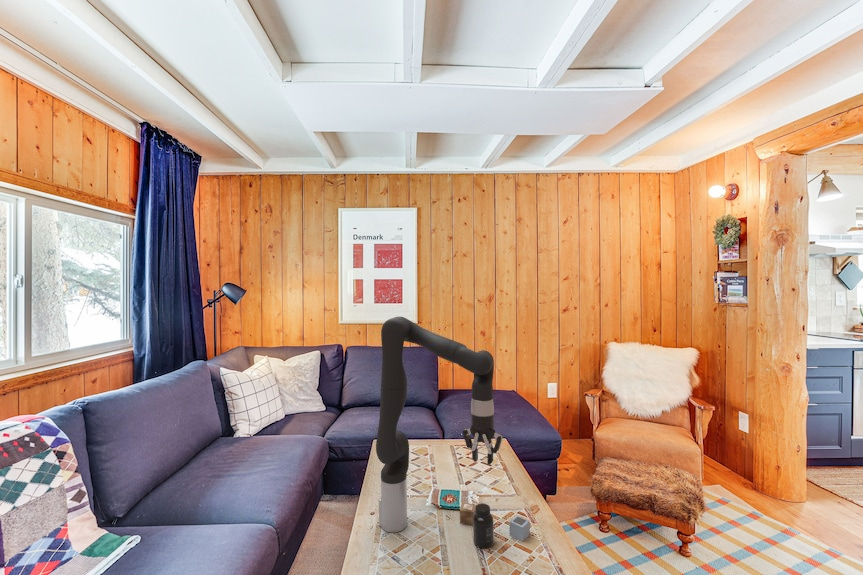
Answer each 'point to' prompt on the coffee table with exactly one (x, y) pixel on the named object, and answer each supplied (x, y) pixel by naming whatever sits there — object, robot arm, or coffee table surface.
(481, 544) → the supplement bottle
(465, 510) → the walnut block
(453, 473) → the coffee table surface
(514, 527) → the slate-blue block
